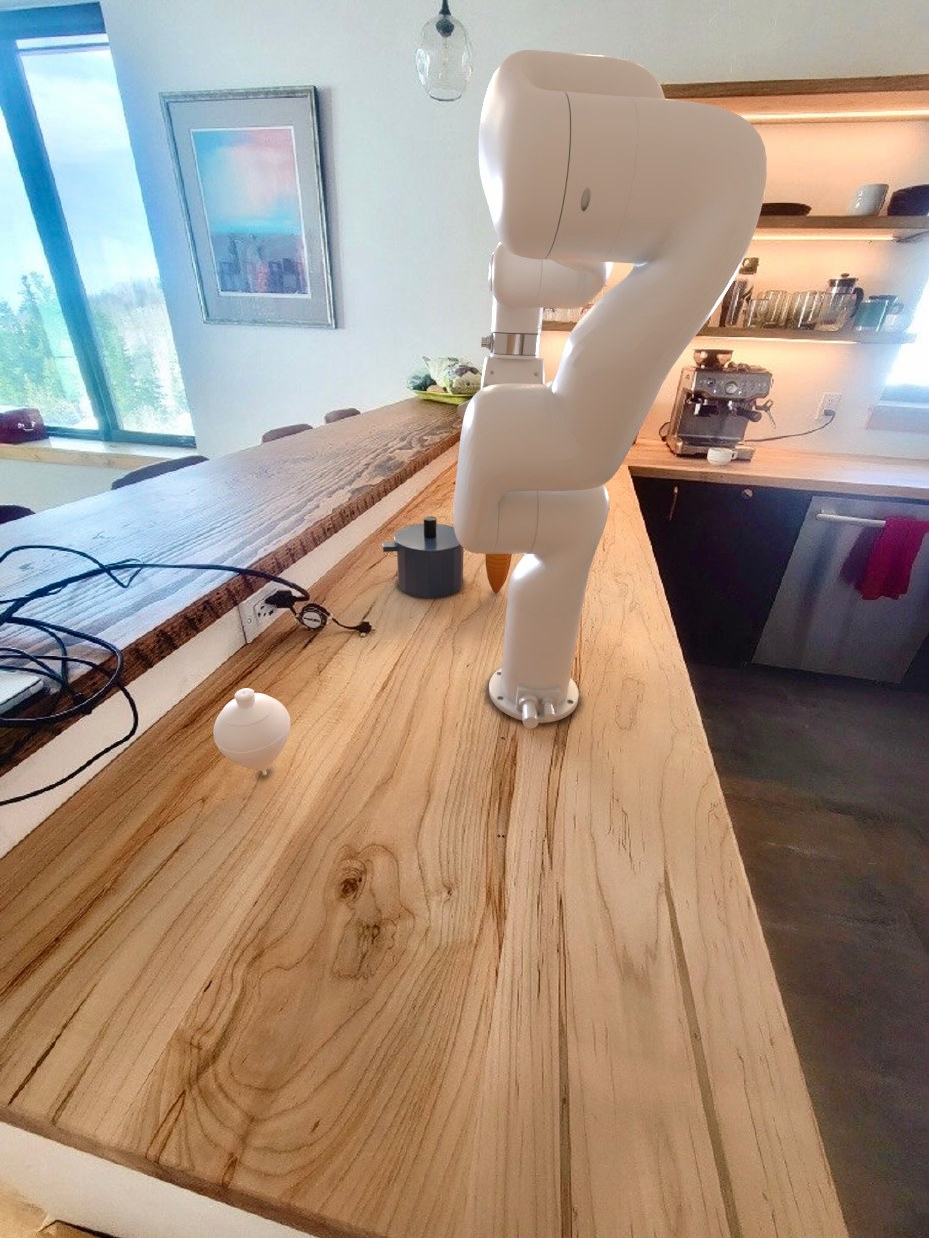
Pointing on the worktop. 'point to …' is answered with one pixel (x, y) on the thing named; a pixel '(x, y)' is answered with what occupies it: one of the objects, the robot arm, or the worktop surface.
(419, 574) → the pot
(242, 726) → the spinning top
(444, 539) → the pot lid
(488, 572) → the carrot
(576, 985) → the worktop surface
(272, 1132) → the worktop surface
